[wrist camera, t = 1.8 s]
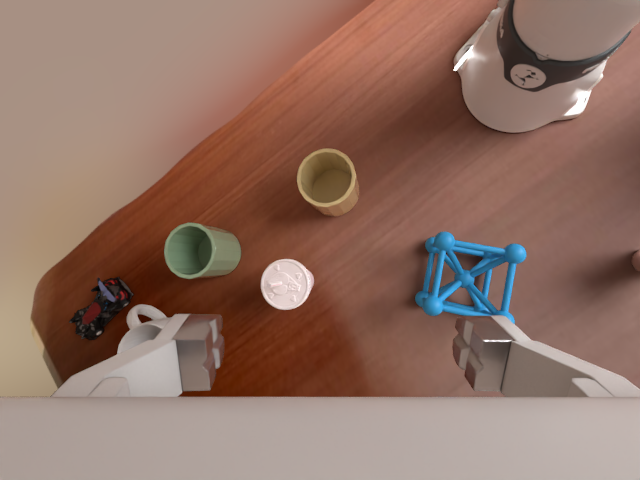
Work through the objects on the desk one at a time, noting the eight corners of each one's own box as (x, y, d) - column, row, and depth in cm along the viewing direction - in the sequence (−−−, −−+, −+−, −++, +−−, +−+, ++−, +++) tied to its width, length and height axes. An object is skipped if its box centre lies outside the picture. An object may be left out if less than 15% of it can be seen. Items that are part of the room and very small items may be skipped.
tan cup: (326, 158, 51) (316, 138, 43) (368, 182, 50) (366, 165, 41) (301, 200, 51) (286, 188, 43) (342, 225, 50) (335, 217, 42)
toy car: (138, 297, 55) (119, 300, 51) (92, 347, 56) (70, 354, 52) (117, 272, 56) (97, 272, 52) (72, 321, 57) (49, 325, 53)
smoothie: (287, 255, 51) (253, 252, 37) (327, 264, 50) (307, 264, 36) (278, 296, 51) (240, 307, 37) (317, 306, 50) (294, 322, 36)
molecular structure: (486, 320, 45) (516, 335, 36) (413, 304, 47) (421, 314, 38) (499, 249, 46) (531, 245, 36) (425, 236, 48) (437, 228, 38)
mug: (226, 341, 52) (190, 359, 42) (188, 381, 53) (144, 407, 43) (176, 284, 54) (130, 288, 44) (140, 322, 55) (88, 334, 45)
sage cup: (212, 220, 54) (182, 212, 45) (249, 244, 52) (225, 241, 44) (189, 260, 54) (154, 259, 46) (225, 285, 53) (196, 289, 44)
